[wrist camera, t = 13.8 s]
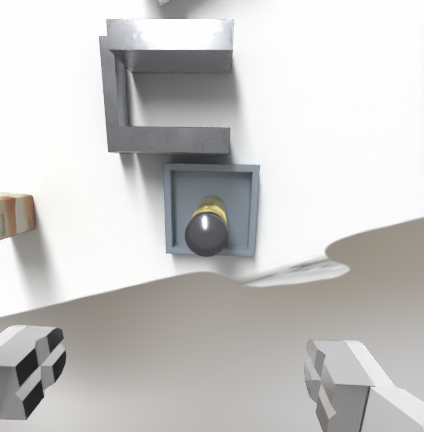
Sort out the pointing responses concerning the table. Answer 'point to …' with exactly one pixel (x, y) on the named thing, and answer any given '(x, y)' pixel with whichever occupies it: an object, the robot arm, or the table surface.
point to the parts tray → (219, 186)
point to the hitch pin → (207, 227)
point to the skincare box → (15, 214)
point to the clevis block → (162, 63)
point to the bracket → (162, 2)
